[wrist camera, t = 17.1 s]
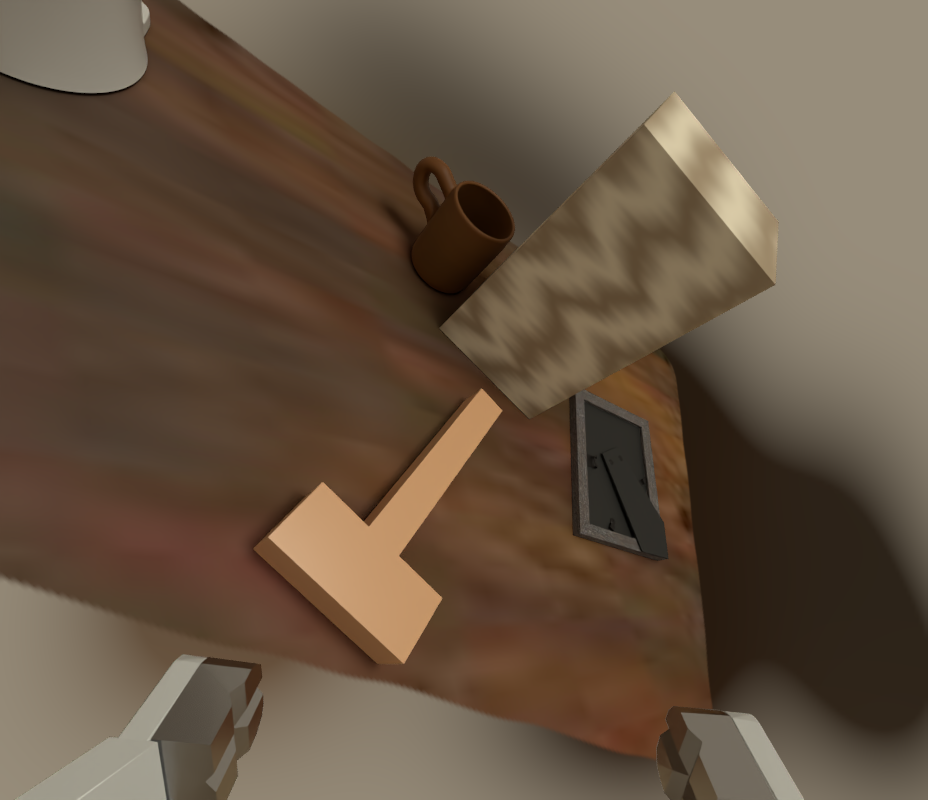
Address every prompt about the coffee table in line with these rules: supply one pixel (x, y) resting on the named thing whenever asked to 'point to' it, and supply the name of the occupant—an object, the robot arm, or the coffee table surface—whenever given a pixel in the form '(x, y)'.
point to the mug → (457, 228)
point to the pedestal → (621, 266)
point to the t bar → (375, 544)
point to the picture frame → (614, 478)
